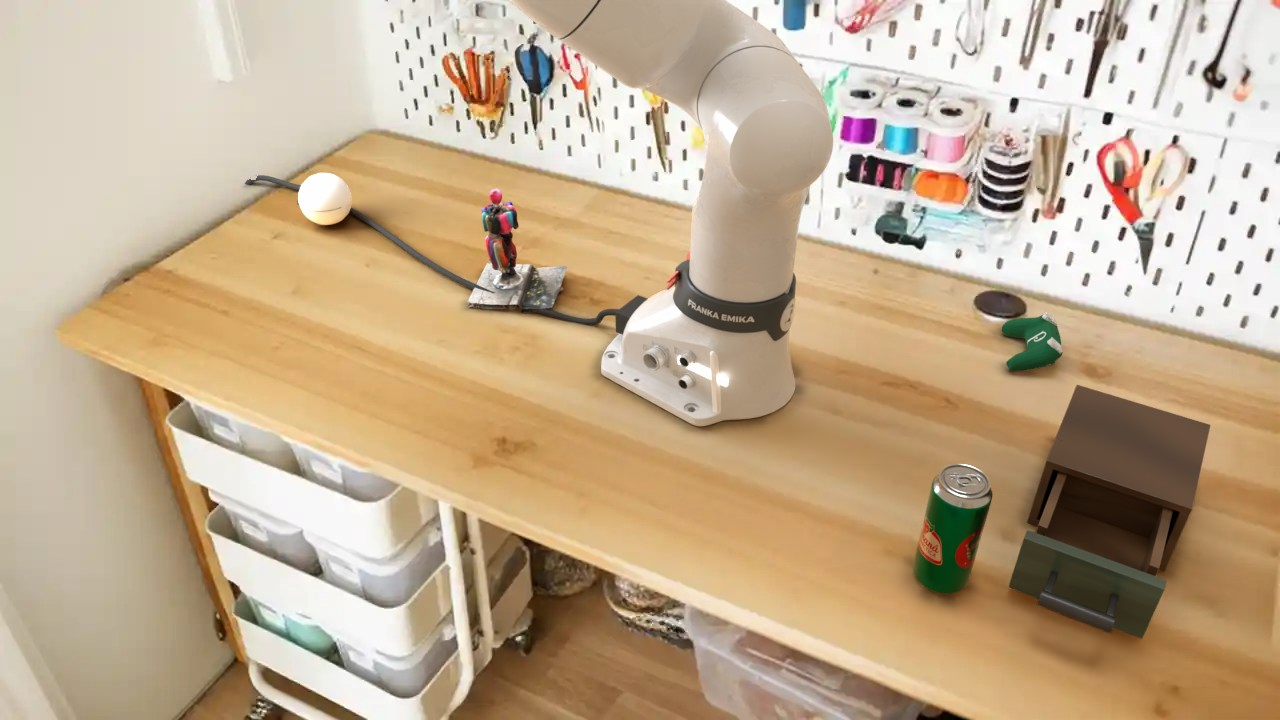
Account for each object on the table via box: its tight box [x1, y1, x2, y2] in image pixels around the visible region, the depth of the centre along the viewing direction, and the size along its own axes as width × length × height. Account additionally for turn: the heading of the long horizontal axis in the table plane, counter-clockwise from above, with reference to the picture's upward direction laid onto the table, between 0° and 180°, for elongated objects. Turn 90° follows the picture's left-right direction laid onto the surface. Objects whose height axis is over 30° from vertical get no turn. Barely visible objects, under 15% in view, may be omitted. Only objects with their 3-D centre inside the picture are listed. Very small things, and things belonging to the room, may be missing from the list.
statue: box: [466, 188, 569, 314], centre depth 131 cm, size 11×9×15 cm
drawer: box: [1008, 471, 1173, 640], centre depth 93 cm, size 16×11×6 cm
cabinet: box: [1026, 384, 1211, 573], centre depth 102 cm, size 14×13×8 cm
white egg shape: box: [296, 172, 353, 226], centre depth 146 cm, size 10×7×7 cm
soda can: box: [912, 463, 994, 595], centre depth 93 cm, size 5×5×12 cm
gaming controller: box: [1001, 311, 1064, 372], centre depth 124 cm, size 9×4×6 cm
